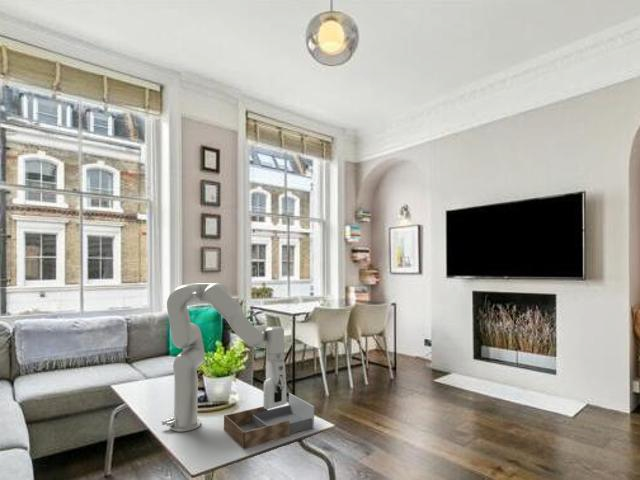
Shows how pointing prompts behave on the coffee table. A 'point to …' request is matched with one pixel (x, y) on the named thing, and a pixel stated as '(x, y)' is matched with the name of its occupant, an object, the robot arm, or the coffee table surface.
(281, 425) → the walnut housing
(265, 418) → the sliding tray
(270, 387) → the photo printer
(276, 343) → the robot arm
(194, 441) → the coffee table surface
